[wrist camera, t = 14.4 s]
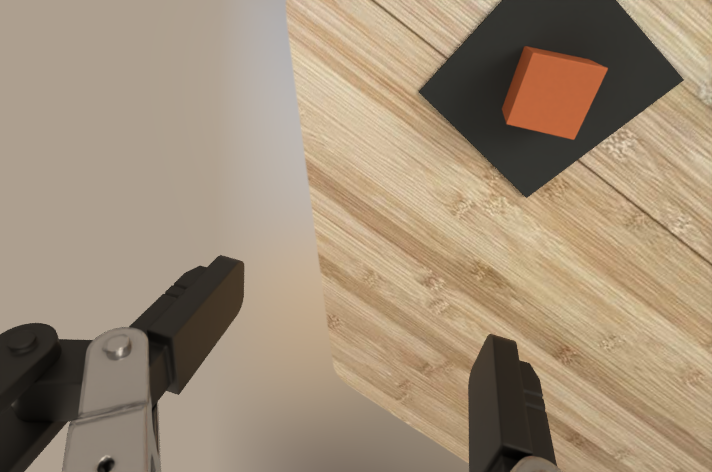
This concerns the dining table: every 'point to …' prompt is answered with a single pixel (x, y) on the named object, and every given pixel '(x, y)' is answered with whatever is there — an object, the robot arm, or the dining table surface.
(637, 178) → the dining table surface
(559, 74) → the top block
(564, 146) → the mat
